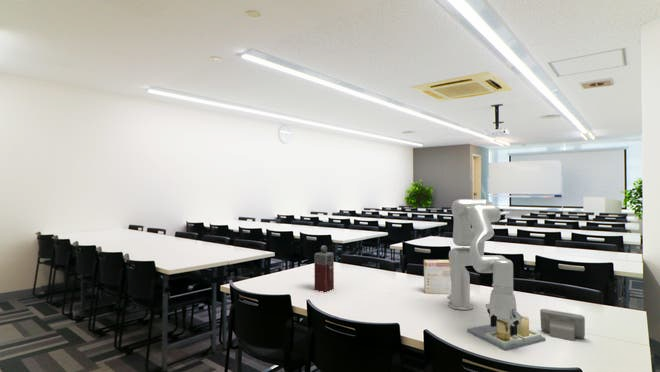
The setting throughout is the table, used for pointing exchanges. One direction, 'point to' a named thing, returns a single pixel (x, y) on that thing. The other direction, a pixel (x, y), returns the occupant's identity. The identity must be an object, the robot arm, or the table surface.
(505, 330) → the cylinder
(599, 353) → the table surface
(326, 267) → the square decanter bottle
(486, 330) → the station
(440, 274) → the coffeecake box
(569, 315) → the digital clock
